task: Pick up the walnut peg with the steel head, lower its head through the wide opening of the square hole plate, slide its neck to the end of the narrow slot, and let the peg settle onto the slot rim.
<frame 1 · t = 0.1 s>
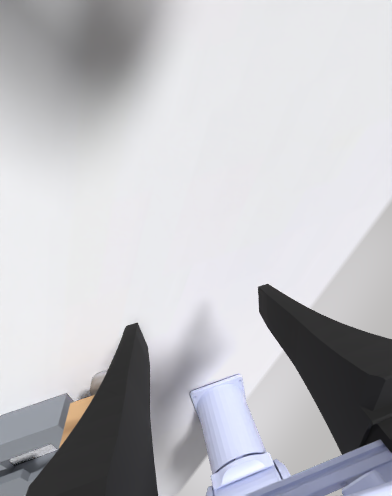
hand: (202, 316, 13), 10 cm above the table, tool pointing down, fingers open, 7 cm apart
peg: (106, 379, 28), on the table
square hole plate: (37, 435, 30), on the table
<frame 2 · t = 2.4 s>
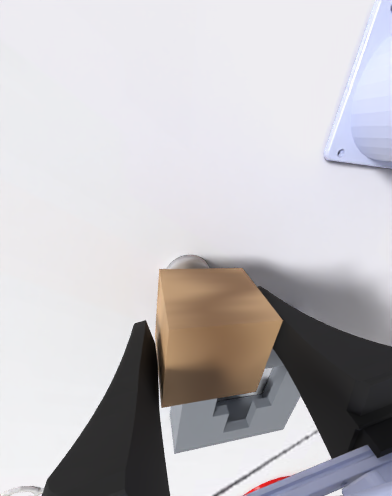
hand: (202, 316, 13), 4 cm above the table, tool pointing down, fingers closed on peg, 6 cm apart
kitchen timer: (267, 492, 45), on the table
peg: (187, 274, 17), on the table, touching gripper
square hole plate: (232, 367, 23), on the table
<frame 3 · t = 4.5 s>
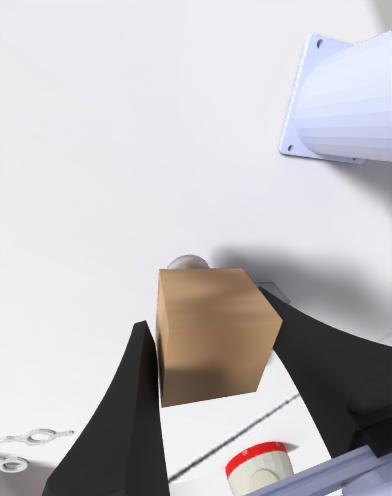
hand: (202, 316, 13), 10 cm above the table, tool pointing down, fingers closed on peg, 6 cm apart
kitchen timer: (254, 458, 50), on the table
peg: (187, 274, 17), point 5 cm above the table, touching gripper
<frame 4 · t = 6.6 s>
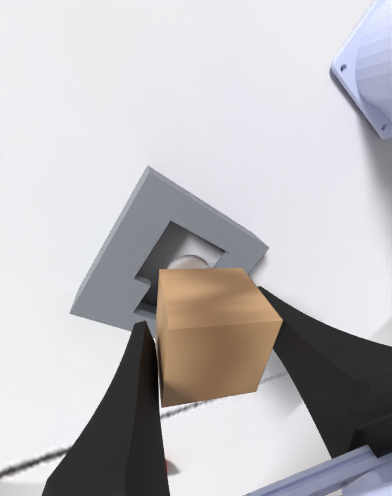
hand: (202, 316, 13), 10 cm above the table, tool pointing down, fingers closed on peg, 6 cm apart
peg: (187, 274, 17), point 5 cm above the table, touching gripper
square hole plate: (168, 259, 22), on the table
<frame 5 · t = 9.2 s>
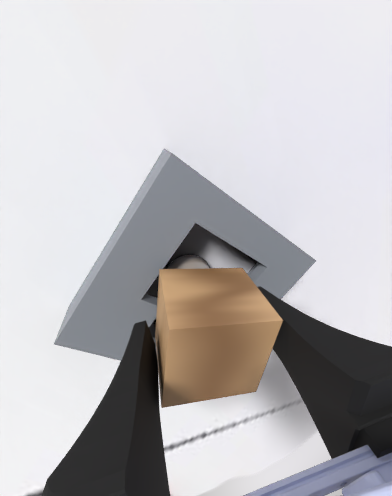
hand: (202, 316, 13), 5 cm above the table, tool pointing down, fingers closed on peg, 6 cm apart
peg: (187, 274, 17), point 1 cm above the table, touching gripper
square hole plate: (183, 271, 18), on the table
when the fingers open (5 cm above the table, at t = 11.3 s): peg stays where it is, resting on square hole plate.
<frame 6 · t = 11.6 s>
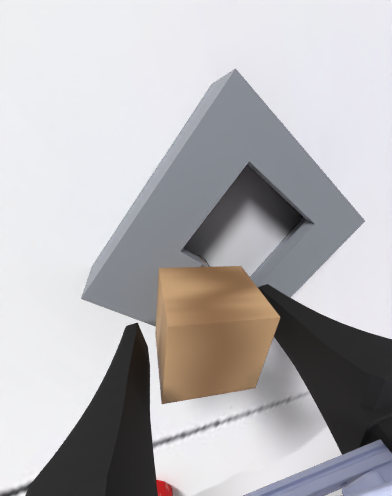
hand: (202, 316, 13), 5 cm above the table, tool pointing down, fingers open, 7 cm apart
peg: (187, 273, 17), resting on square hole plate
square hole plate: (216, 234, 16), on the table
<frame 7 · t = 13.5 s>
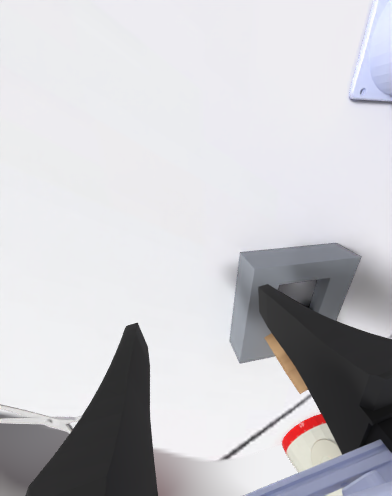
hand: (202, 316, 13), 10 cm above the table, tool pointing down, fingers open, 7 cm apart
kitchen timer: (310, 430, 50), on the table
peg: (275, 318, 29), resting on square hole plate
scissors: (56, 414, 30), on the table
square hole plate: (279, 294, 28), on the table
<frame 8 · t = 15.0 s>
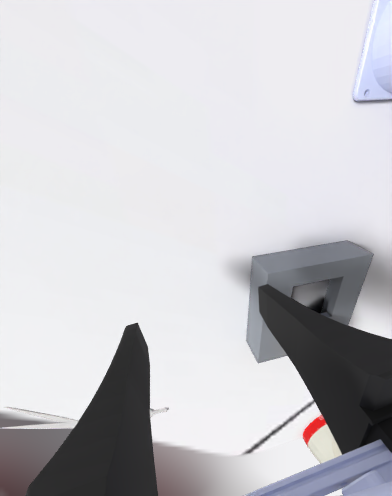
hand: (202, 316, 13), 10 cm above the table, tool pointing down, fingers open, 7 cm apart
kitchen timer: (330, 422, 50), on the table
scissors: (85, 418, 31), on the table
square hole plate: (293, 294, 28), on the table
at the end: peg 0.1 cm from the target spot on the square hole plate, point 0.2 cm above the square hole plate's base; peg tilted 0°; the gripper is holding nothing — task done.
